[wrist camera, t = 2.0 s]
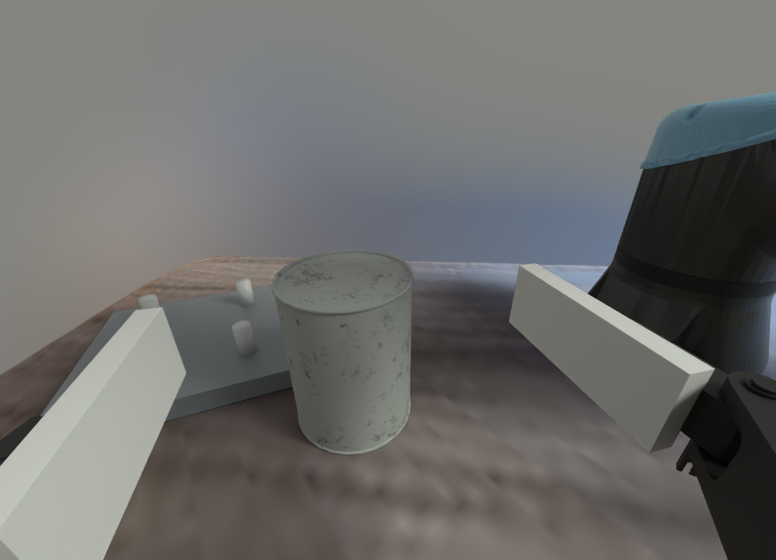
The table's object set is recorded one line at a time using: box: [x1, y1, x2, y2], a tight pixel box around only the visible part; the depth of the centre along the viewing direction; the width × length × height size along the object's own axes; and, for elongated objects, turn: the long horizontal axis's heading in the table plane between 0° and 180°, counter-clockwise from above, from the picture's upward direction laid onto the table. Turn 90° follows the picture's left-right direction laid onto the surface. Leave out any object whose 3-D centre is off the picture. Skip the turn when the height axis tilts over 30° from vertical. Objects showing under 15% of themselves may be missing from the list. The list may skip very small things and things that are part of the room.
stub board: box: [40, 279, 293, 421], centre depth 33 cm, size 20×18×5 cm
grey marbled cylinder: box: [272, 249, 414, 455], centre depth 25 cm, size 10×10×12 cm
